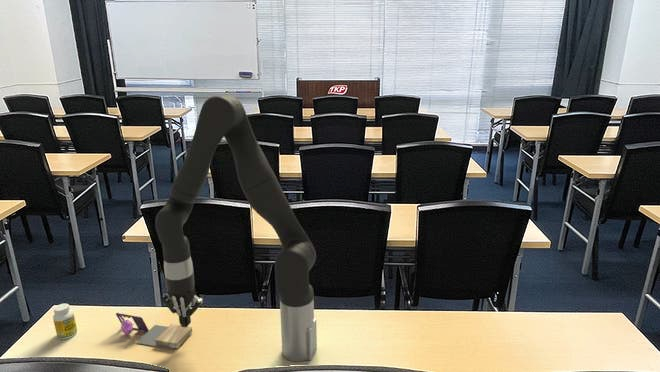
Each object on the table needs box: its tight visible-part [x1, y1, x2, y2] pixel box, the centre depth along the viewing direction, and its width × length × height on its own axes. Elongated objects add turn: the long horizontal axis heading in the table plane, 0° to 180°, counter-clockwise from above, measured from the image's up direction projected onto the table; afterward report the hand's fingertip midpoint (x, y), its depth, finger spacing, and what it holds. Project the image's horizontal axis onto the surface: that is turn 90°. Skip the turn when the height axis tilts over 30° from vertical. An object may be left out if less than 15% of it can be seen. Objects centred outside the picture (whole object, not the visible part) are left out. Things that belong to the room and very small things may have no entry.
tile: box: [155, 323, 193, 349], centre depth 133 cm, size 2×8×7 cm
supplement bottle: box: [52, 303, 78, 340], centre depth 135 cm, size 5×5×10 cm
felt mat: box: [136, 324, 175, 351], centre depth 134 cm, size 12×9×1 cm
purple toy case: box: [115, 312, 150, 339], centre depth 135 cm, size 7×5×9 cm
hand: (185, 325), depth 131 cm, fingers closed
